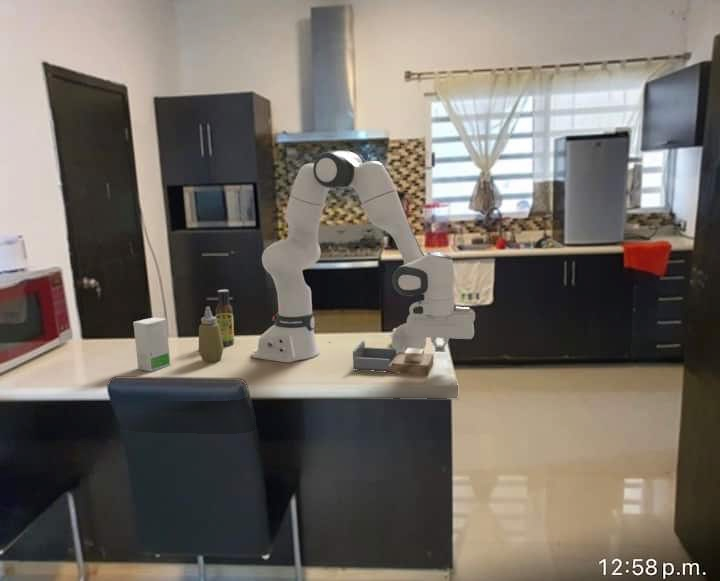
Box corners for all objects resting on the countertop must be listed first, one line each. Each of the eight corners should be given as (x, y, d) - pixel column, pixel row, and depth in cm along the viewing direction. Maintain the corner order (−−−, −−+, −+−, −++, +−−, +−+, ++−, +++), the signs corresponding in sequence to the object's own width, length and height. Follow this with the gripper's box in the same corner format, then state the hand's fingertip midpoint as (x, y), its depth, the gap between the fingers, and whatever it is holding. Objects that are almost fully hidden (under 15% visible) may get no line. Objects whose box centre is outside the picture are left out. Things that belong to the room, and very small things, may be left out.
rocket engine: (393, 314, 201) (405, 315, 183) (418, 334, 202) (433, 336, 184) (374, 340, 199) (384, 344, 182) (399, 360, 201) (412, 365, 183)
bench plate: (391, 372, 170) (391, 363, 169) (398, 361, 180) (398, 352, 180) (428, 375, 167) (428, 365, 166) (433, 363, 177) (433, 354, 177)
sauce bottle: (216, 347, 200) (211, 292, 196) (217, 342, 206) (213, 289, 202) (234, 346, 201) (230, 291, 197) (235, 341, 207) (231, 288, 203)
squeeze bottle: (229, 357, 189) (225, 305, 185) (213, 365, 181) (209, 310, 178) (210, 354, 192) (206, 303, 188) (194, 362, 185) (189, 308, 181)
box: (353, 370, 173) (352, 351, 172) (362, 358, 183) (362, 341, 182) (391, 372, 170) (391, 353, 169) (398, 361, 180) (398, 343, 179)
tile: (404, 360, 171) (404, 352, 171) (407, 355, 176) (407, 347, 175) (421, 361, 170) (421, 353, 169) (423, 356, 174) (423, 348, 174)
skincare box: (150, 372, 176) (145, 324, 173) (136, 369, 179) (131, 322, 176) (171, 364, 183) (167, 318, 180) (158, 361, 186) (153, 316, 183)
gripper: (475, 305, 168) (475, 349, 170) (408, 303, 173) (408, 346, 176) (474, 310, 162) (474, 356, 164) (404, 308, 167) (405, 353, 170)
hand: (439, 351), depth 170 cm, fingers closed
